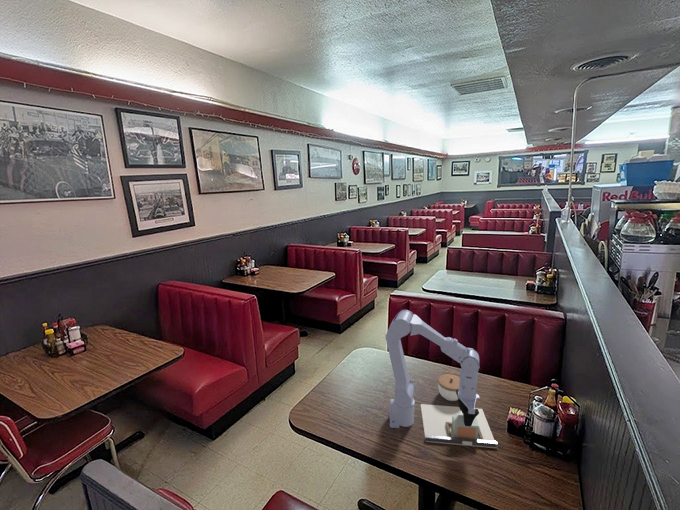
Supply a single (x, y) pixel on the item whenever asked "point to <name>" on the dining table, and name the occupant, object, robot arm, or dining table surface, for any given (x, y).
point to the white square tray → (440, 427)
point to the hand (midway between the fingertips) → (465, 417)
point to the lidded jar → (448, 386)
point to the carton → (464, 428)
